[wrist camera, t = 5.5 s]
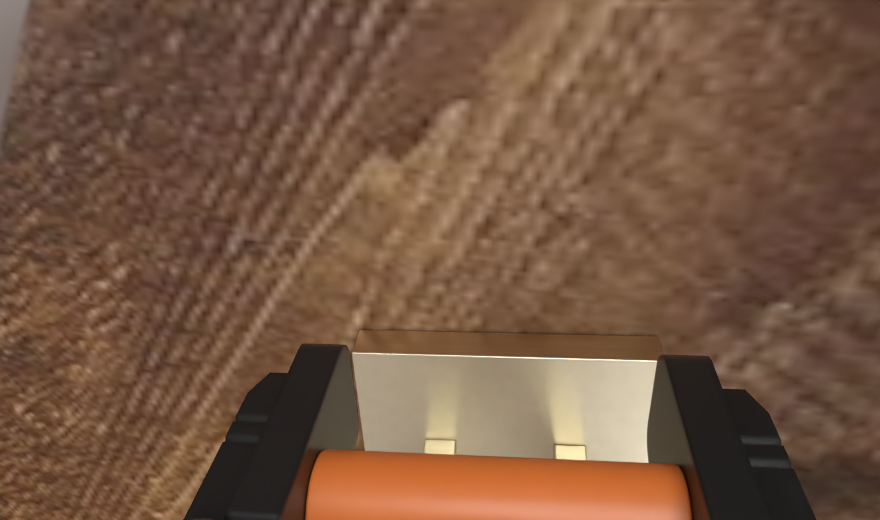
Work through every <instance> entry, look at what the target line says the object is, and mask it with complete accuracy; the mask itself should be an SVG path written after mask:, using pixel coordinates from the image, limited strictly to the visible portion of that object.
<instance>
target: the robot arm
mask: <svg viewBox="0 0 880 520" xmlns="http://www.w3.org/2000/svg"><path fill="white" fill-rule="evenodd" d="M357 435H358V410H357V402H356V395H355V388H354V381H353V373H352V366H351V359H350V353H349V349H348V347H347V345H337V344H302V345H301V346H300V348H299V350H298V352H297V354H296V356H295V358H294V361H293V363H292V365H291V367H290V370H289V372H288V373H269V374H268V375H267V376H266V377H265V378H264V379H263V380H262V381H260V382H259V383H258V384H257V385H256V386H255V387H254V388H253V389H252V390H250V391H249V392H248V393H247V395H246V397H245V399H244V401H243V403H242V405H241V407H240V409H239V411H238V413H237V415H236V420H235V422H233V423H232V425H231V427H230V429H229V431H228V433H227V435H226V440H225V442H223V443H222V445H221V447H220V449H219V451H218V453H217V455H216V457H215V459H214V461H213V463H212V465H211V467H210V469H209V471H208V473H207V474H206V476H205V478H204V480H203V482H202V484H201V486H200V488H199V490H198V492H197V494H196V496H195V498H194V500H193V502H192V504H191V506H190V508H189V510H188V512H187V514H186V516H185V518H184V519H183V520H305V511H306V499H307V492H308V486H309V481H310V477H311V473H312V469H313V466H314V464H315V461H316V459H317V457H318V455H319V454H320V452H321V451H323V450H325V449H337V450H355V448H356V443H357ZM647 454H648V462H649V463H664V464H676V465H678V466H679V467H680V468H681V470H682V472H683V474H684V477H685V480H686V483H687V487H688V491H689V496H690V502H691V510H692V520H816V518H815V516H814V514H813V511H812V509H811V507H810V505H809V502H808V500H807V498H806V496H805V493H804V491H803V489H802V487H801V484H800V482H799V480H798V478H797V475H796V473H795V471H794V469H791V462H790V460H789V457H788V455H787V453H786V451H785V448H784V446H781V439H780V437H779V435H778V433H777V430H776V428H775V426H774V424H773V421H772V419H771V417H770V414H769V413H768V412H767V411H766V410H765V409H764V408H763V407H762V406H761V405H760V404H759V403H758V402H757V401H756V400H755V399H754V398H753V397H752V396H751V395H750V394H749V393H748V392H747V391H746V390H740V389H722V387H721V384H720V381H719V379H718V376H717V373H716V371H715V368H714V365H713V363H712V360H711V359H710V358H709V357H708V356H688V355H660V356H659V358H658V361H657V365H656V371H655V378H654V385H653V391H652V398H651V405H650V411H649V418H648V425H647Z"/></svg>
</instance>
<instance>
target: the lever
mask: <svg viewBox="0 0 880 520" xmlns="http://www.w3.org/2000/svg"><path fill="white" fill-rule="evenodd" d="M305 520H692V510H691V502H690V496H689V491H688V487H687V483H686V480H685V477H684V474H683V472H682V470H681V468H680V467H679V466H678V465H676V464H664V463H641V462H618V461H594V460H571V459H547V458H524V457H501V456H477V455H454V454H430V453H407V452H384V451H360V450H337V449H325V450H323V451H321V452H320V454H319V455H318V457H317V459H316V461H315V464H314V466H313V469H312V473H311V477H310V481H309V486H308V492H307V499H306V511H305Z"/></svg>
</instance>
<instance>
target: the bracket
mask: <svg viewBox="0 0 880 520" xmlns="http://www.w3.org/2000/svg"><path fill="white" fill-rule="evenodd" d="M660 355H664V353H663V350H662V346H661V343H660V340H659V337H654V336H612V335H569V334H526V333H483V332H441V331H398V330H359V333H358V336H357V339H356V342H355V345H354V348H353V351H352V359H353V367H354V374H355V382H356V389H357V396H358V404H359V411H360V419H361V426H362V433H363V441H364V448H365V451H384V452H407V453H430V454H454V455H477V456H501V457H524V458H547V459H571V460H594V461H618V462H641V463H649V462H648V454H647V425H648V418H649V411H650V405H651V398H652V391H653V385H654V378H655V371H656V365H657V361H658V358H659V356H660Z"/></svg>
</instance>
